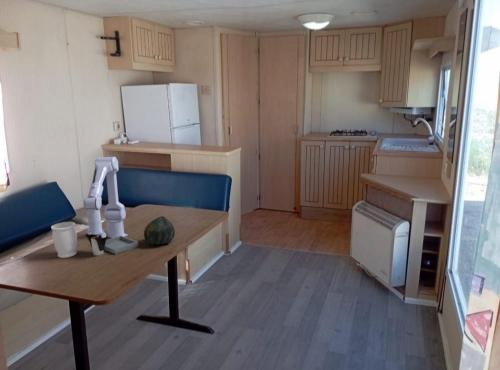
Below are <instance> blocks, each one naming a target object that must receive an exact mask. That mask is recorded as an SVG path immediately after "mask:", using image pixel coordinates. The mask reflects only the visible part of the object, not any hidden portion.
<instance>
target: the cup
mask: <svg viewBox="0 0 500 370" xmlns="http://www.w3.org/2000/svg"><path fill="white" fill-rule="evenodd" d="M96 237H99V236H98V235H97V236H95V237H92V238H91V242H92V247H91V249H92V255H93V256H95V257H97V256H101V255H104V254H105V250H103V251H99V247H98V244H97V241H96V240H95V238H96Z"/></svg>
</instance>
